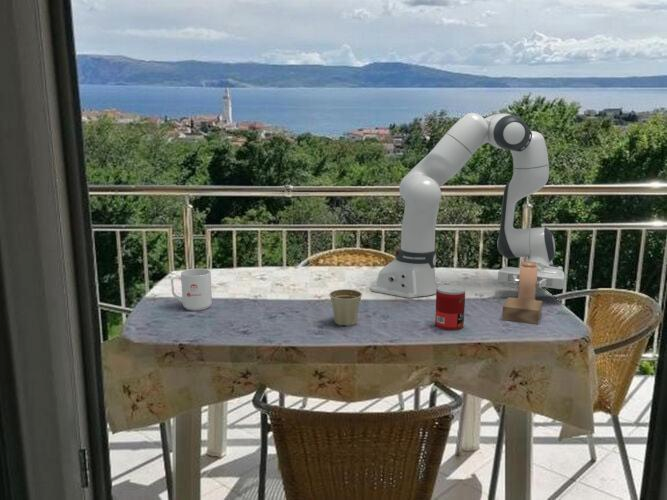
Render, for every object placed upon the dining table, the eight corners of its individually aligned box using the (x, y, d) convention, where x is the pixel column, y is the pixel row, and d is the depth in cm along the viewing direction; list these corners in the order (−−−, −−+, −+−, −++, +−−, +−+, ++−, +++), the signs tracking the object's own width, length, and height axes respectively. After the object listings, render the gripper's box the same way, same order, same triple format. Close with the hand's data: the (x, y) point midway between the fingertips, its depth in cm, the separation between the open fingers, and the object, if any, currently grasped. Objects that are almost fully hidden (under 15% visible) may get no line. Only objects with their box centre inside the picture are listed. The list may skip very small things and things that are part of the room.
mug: (213, 302, 204) (211, 268, 201) (210, 311, 195) (209, 275, 193) (174, 303, 203) (172, 269, 200) (170, 312, 194) (168, 276, 191)
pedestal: (502, 319, 187) (502, 306, 186) (507, 309, 196) (507, 297, 195) (537, 324, 183) (538, 310, 183) (541, 313, 192) (542, 300, 192)
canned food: (463, 331, 178) (465, 293, 175) (434, 329, 179) (435, 291, 177) (463, 322, 185) (465, 285, 183) (435, 320, 187) (437, 283, 184)
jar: (516, 304, 199) (519, 264, 196) (518, 300, 204) (521, 260, 201) (533, 306, 197) (537, 265, 194) (535, 301, 202) (538, 261, 199)
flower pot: (351, 330, 178) (351, 300, 176) (323, 324, 183) (322, 295, 181) (368, 321, 186) (368, 292, 184) (340, 315, 191) (340, 287, 189)
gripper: (502, 260, 214) (493, 269, 202) (567, 267, 205) (562, 277, 193) (501, 278, 215) (492, 289, 203) (565, 286, 207) (560, 298, 195)
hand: (527, 283), depth 198 cm, fingers closed on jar, 5 cm apart
